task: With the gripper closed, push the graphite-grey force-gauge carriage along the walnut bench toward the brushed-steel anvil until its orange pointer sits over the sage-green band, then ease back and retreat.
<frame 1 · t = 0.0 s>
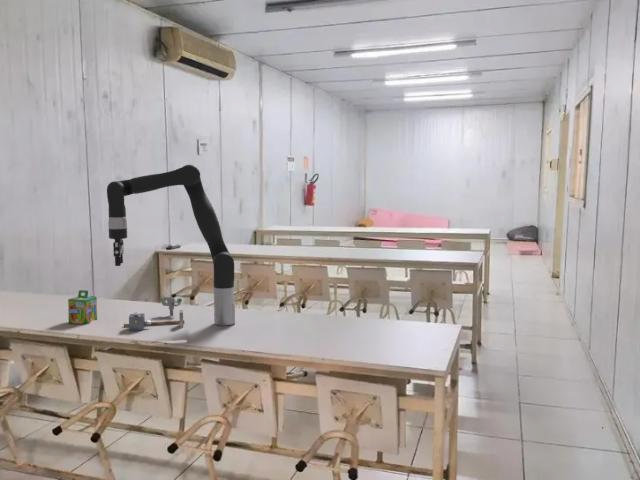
hand: (119, 264, 231), 29 cm above the table, fingers open, 8 cm apart
mechanical component: (171, 318, 254), on the table
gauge: (137, 328, 231), point 1 cm above the table, slide at 0.0 cm
chalk box: (83, 322, 247), on the table
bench: (154, 330, 232), on the table
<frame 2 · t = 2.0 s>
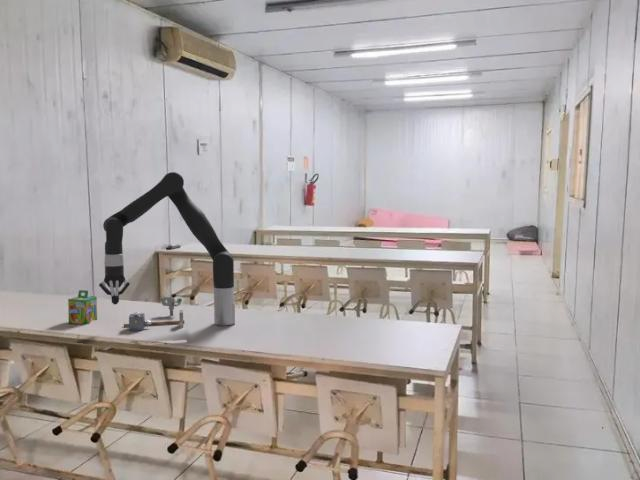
hand: (115, 304, 227), 13 cm above the table, fingers closed
nothing on the table moved.
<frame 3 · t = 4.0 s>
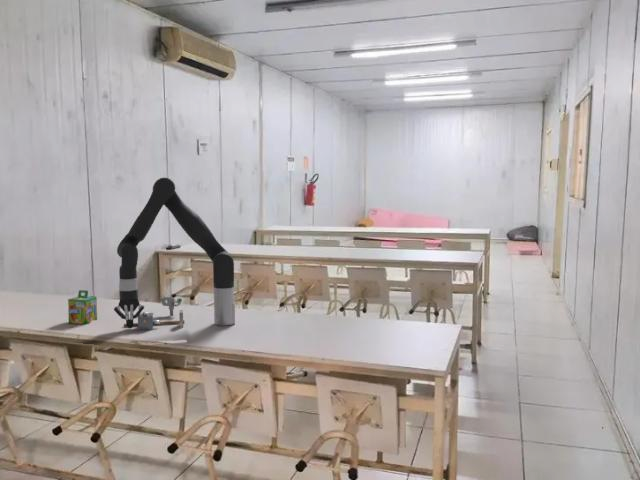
hand: (129, 327, 230), 2 cm above the table, fingers closed
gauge: (145, 328, 231), point 1 cm above the table, slide at 3.6 cm, touching hand
everything else where it was.
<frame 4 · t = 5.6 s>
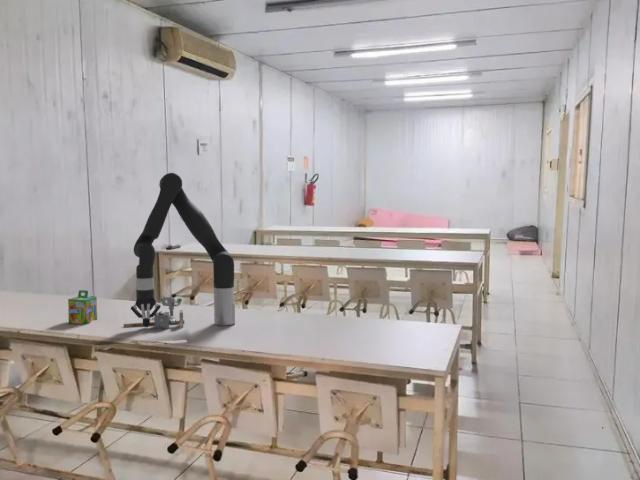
hand: (146, 326, 231), 2 cm above the table, fingers closed
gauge: (162, 327, 233), point 1 cm above the table, slide at 10.5 cm, touching hand
everything else where it was.
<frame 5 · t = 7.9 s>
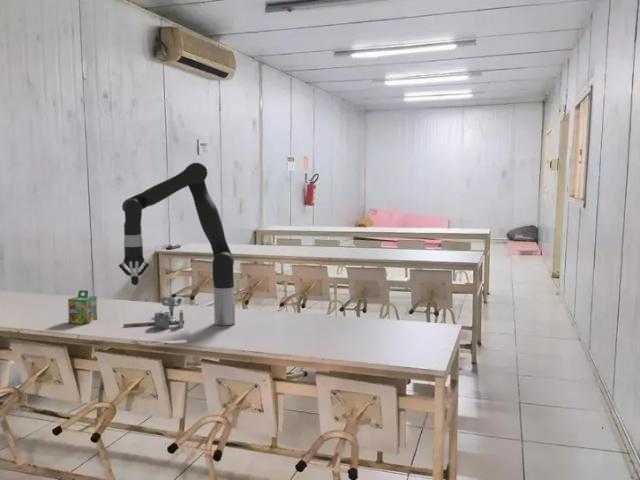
hand: (135, 284, 229), 21 cm above the table, fingers closed
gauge: (162, 327, 233), point 1 cm above the table, slide at 10.5 cm
everything else where it was.
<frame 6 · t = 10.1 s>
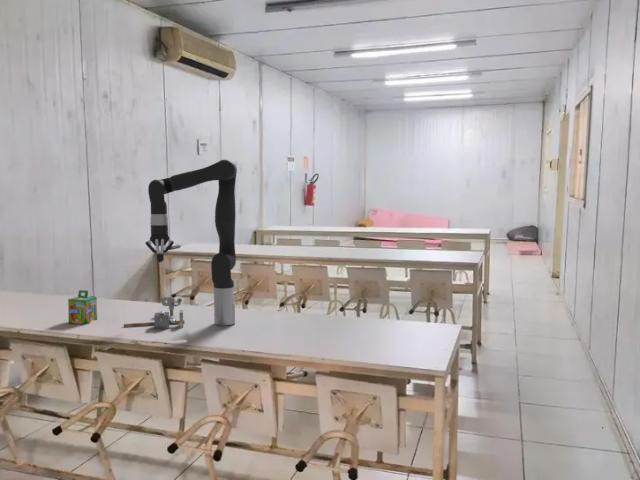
hand: (160, 261, 241), 29 cm above the table, fingers closed
nothing on the table moved.
at the end: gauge slide at 10.5 cm; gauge moved 10.5 cm from its start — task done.
